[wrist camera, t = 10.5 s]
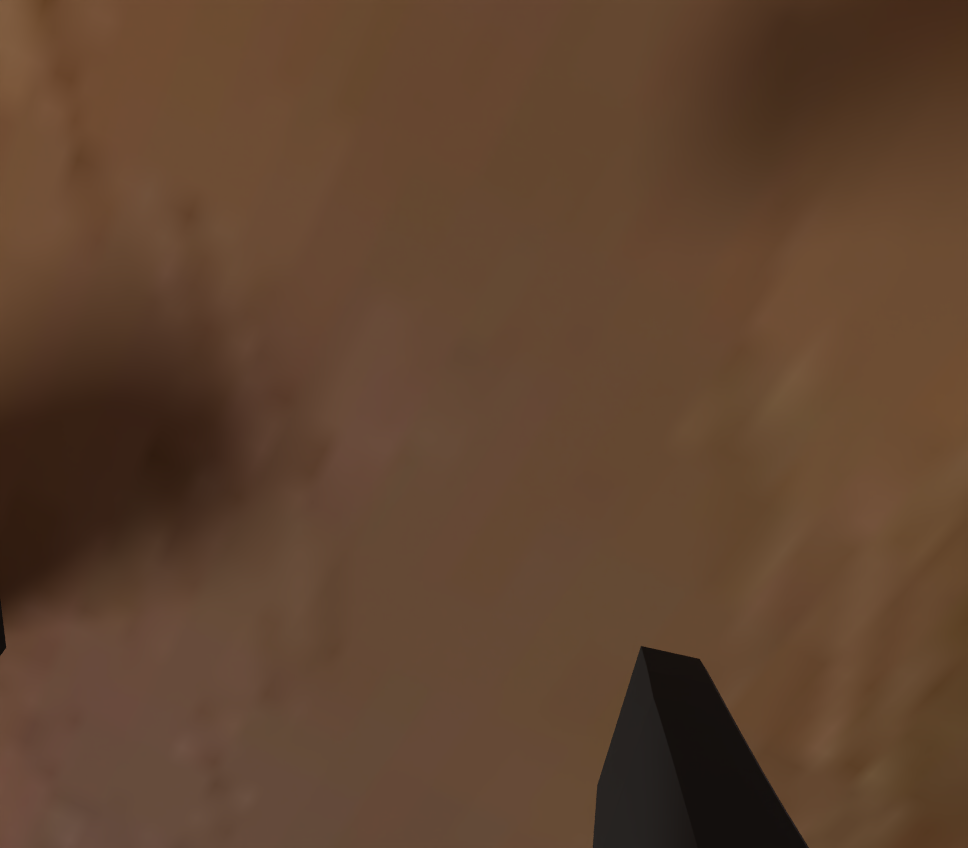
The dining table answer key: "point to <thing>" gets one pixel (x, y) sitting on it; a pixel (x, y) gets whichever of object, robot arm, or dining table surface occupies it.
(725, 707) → the robot arm
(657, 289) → the dining table surface
